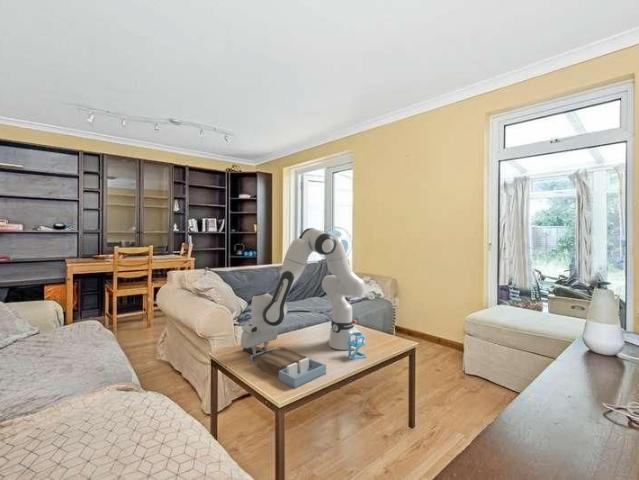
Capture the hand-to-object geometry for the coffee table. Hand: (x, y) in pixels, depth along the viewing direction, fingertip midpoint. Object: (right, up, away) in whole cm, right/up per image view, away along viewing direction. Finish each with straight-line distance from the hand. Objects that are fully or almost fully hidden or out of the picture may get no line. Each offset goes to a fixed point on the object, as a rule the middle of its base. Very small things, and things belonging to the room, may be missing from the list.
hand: (259, 352), depth 160 cm
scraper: (-3, -2, +3) cm, 5 cm away
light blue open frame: (+49, -4, +3) cm, 49 cm away
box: (+23, -3, -21) cm, 31 cm away
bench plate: (+12, -3, -11) cm, 17 cm away
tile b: (+18, 0, -21) cm, 27 cm away
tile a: (+22, 0, -16) cm, 27 cm away
